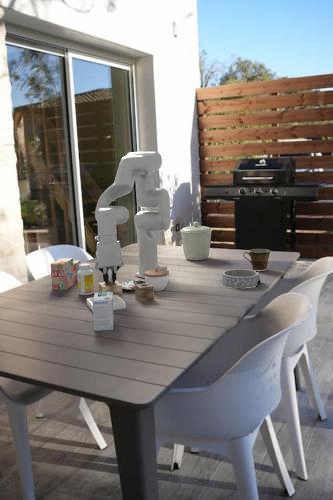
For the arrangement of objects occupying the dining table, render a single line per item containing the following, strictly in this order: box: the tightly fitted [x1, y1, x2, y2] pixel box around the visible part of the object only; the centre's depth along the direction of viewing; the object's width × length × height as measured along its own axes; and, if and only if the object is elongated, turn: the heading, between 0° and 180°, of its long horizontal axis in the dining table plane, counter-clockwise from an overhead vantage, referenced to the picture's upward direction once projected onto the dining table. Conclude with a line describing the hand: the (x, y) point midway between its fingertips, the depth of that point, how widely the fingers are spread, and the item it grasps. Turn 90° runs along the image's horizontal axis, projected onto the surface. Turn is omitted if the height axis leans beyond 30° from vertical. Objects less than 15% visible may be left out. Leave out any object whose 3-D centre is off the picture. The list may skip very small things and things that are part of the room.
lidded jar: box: [144, 268, 170, 292], centre depth 223 cm, size 11×11×9 cm
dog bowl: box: [220, 268, 262, 289], centre depth 228 cm, size 17×18×5 cm
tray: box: [85, 295, 127, 313], centre depth 199 cm, size 13×13×2 cm
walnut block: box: [134, 282, 155, 303], centre depth 207 cm, size 6×6×6 cm
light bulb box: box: [92, 291, 115, 332], centre depth 176 cm, size 11×7×11 cm, turn 5°
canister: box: [179, 221, 213, 261], centre depth 284 cm, size 18×18×21 cm
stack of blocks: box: [50, 257, 81, 291], centre depth 237 cm, size 21×6×12 cm, turn 169°
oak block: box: [97, 280, 124, 300], centre depth 212 cm, size 8×8×6 cm
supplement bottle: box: [77, 263, 95, 296], centre depth 218 cm, size 7×7×13 cm
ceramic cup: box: [243, 248, 271, 270], centre depth 252 cm, size 13×10×10 cm
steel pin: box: [106, 266, 113, 286], centre depth 211 cm, size 3×3×12 cm
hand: (110, 281), depth 211 cm, fingers closed on steel pin, 2 cm apart
